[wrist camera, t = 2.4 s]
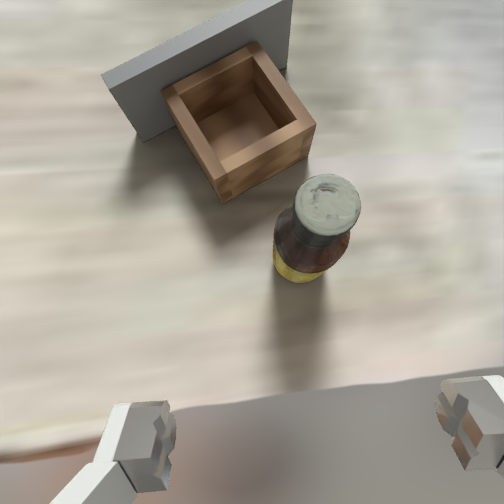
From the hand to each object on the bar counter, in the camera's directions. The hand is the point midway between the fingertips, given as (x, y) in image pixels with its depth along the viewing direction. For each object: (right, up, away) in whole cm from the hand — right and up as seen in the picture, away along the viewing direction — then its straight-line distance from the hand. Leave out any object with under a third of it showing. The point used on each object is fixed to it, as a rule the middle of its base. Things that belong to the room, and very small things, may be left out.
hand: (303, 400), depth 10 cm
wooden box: (-3, +19, +33) cm, 38 cm away
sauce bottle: (+4, +4, +29) cm, 30 cm away
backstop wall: (-7, +25, +34) cm, 43 cm away
